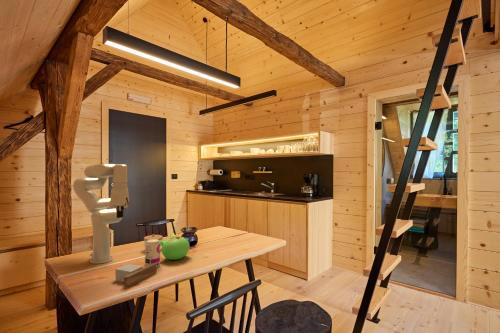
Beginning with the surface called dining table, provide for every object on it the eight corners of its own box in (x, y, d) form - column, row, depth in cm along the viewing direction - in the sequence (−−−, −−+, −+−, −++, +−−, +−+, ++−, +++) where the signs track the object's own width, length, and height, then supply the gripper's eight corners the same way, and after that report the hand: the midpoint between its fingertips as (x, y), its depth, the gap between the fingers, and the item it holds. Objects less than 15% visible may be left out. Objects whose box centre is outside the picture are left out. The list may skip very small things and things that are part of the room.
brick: (115, 280, 137) (115, 269, 137) (127, 274, 144) (127, 263, 145) (130, 283, 133) (130, 271, 133) (142, 277, 141) (142, 266, 141)
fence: (123, 286, 129) (124, 276, 129) (152, 272, 148) (152, 263, 148) (127, 287, 129) (128, 277, 129) (156, 272, 147) (156, 263, 147)
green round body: (176, 265, 159) (176, 240, 159) (154, 260, 166) (154, 237, 166) (194, 256, 175) (194, 233, 175) (174, 252, 182) (174, 231, 182)
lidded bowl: (165, 247, 193) (165, 232, 193) (157, 253, 181) (158, 236, 181) (148, 247, 195) (149, 231, 195) (140, 252, 182) (140, 236, 182)
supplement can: (161, 263, 161) (161, 238, 161) (157, 268, 153) (157, 242, 153) (148, 263, 161) (148, 238, 161) (143, 268, 153) (143, 242, 153)
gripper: (104, 185, 153) (104, 217, 153) (124, 186, 148) (124, 219, 148) (115, 185, 160) (115, 215, 160) (135, 185, 155) (134, 217, 155)
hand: (119, 217), depth 154 cm, fingers closed
